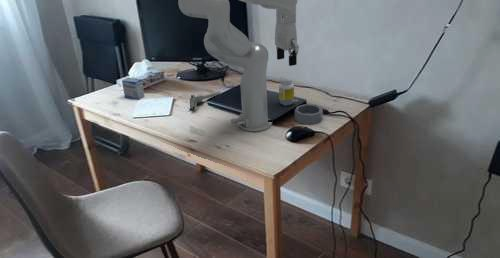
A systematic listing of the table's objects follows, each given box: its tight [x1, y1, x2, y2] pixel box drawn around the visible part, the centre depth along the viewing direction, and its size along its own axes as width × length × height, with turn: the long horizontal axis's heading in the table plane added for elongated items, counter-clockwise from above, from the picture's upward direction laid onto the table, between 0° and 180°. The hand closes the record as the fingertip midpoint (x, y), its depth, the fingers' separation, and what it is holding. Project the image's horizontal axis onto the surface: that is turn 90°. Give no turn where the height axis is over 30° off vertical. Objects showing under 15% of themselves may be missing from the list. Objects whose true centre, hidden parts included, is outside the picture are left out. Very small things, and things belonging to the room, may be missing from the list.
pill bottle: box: [278, 76, 295, 100], centre depth 174 cm, size 6×6×11 cm
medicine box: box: [121, 77, 145, 101], centre depth 190 cm, size 8×4×9 cm, turn 68°
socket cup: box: [294, 103, 324, 125], centre depth 162 cm, size 10×10×4 cm
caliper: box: [189, 91, 222, 110], centre depth 183 cm, size 20×1×6 cm, turn 144°
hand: (286, 62), depth 169 cm, fingers open, 9 cm apart
